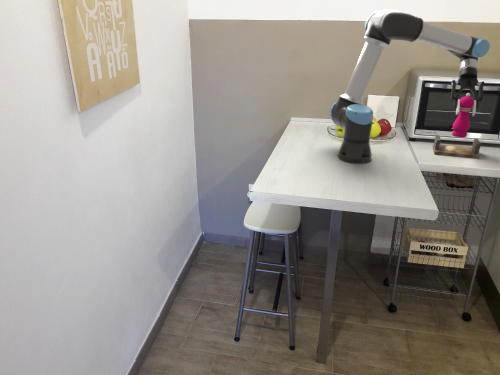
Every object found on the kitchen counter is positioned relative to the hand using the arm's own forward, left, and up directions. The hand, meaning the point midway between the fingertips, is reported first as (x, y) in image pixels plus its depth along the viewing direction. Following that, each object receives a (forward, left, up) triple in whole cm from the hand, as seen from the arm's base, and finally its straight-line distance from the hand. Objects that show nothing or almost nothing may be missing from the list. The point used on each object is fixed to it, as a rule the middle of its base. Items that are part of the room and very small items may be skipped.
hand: (465, 113), depth 182 cm
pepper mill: (0, +4, -12) cm, 12 cm away
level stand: (0, +3, -20) cm, 20 cm away
